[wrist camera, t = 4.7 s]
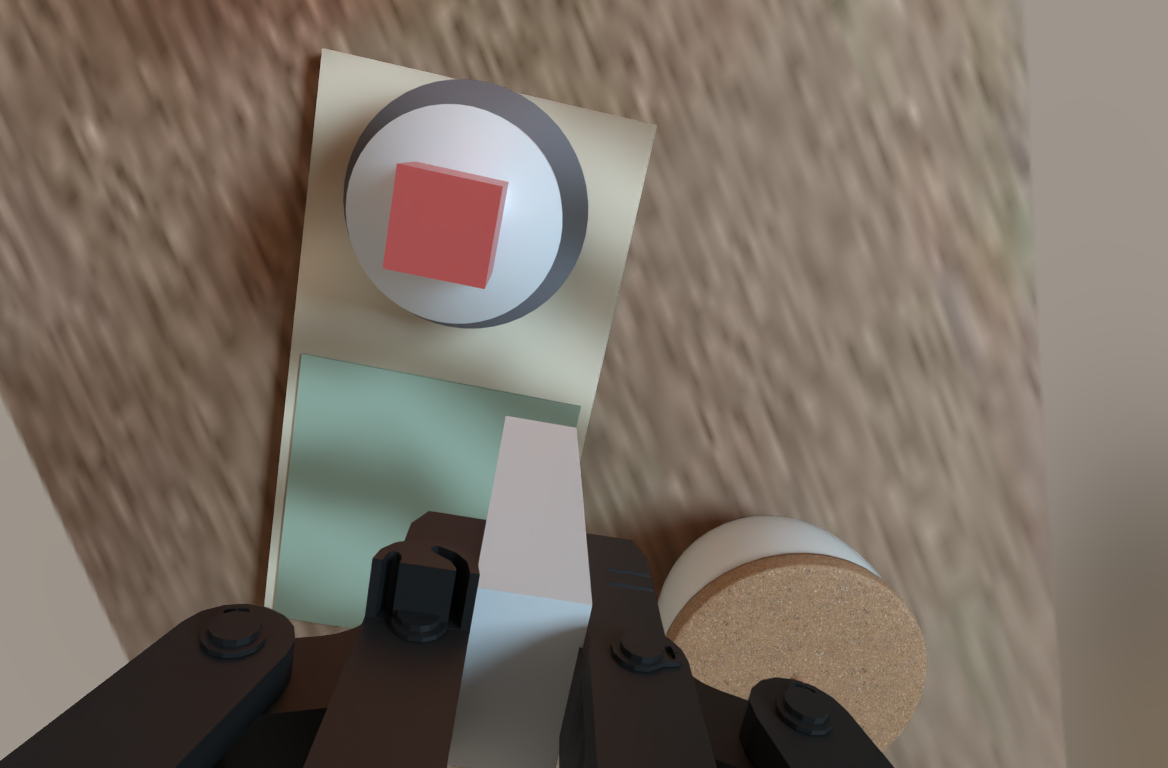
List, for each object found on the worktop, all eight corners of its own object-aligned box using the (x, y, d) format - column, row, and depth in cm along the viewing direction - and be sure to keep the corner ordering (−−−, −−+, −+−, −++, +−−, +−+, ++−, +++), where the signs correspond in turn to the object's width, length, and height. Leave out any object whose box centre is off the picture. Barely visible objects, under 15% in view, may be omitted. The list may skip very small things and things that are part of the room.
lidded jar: (853, 657, 39) (943, 810, 30) (646, 679, 39) (674, 840, 30) (856, 466, 35) (957, 574, 27) (630, 490, 35) (655, 607, 26)
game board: (535, 642, 38) (533, 690, 34) (271, 600, 36) (242, 646, 33) (653, 125, 31) (666, 123, 27) (329, 51, 29) (300, 38, 26)
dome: (541, 322, 29) (538, 365, 23) (356, 285, 28) (305, 321, 22) (579, 133, 27) (586, 129, 21) (381, 88, 26) (332, 71, 20)
